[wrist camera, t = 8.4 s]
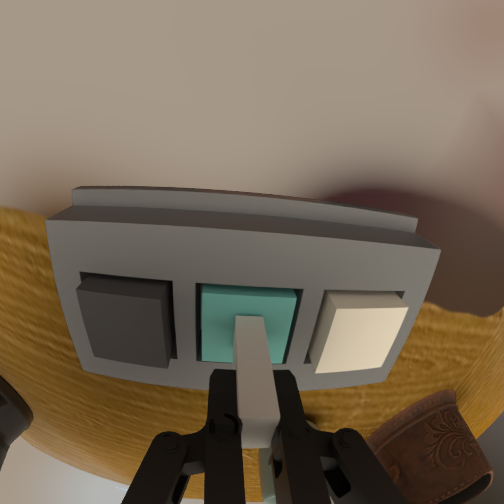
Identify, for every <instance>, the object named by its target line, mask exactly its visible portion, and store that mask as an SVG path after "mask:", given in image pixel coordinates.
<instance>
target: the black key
mask: <svg viewBox="0 0 504 504" xmlns="http://www.w3.org/2000/svg"><path fill="white" fill-rule="evenodd" d="M76 293H77V298H78V302H79V306H80V310H81V314H82V318H83V322H84V325H85V329H86V332H87V336H88V339H89V342H90V345H91V349H92V352H93V355H94V357H98V358H103V359H108V360H113V361H118V362H124V363H130V364H136V365H142V366H149V367H157V368H164V369H168V366H169V362H170V357H171V353H172V349H173V345H174V341H175V329H174V313H173V294H172V281H170V280H158V279H147V278H137V277H127V276H117V275H108V274H99V273H90V274H89V275H88V276H87V277H86V278H85V279H84V280H83V282H82V283H81V284H80V285H79V286H78V287H77V288H76Z"/></svg>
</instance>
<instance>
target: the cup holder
mask: <svg viewBox="0 0 504 504" xmlns="http://www.w3.org/2000/svg"><path fill="white" fill-rule="evenodd" d="M366 443H367V445H368V446H369V447H370V449H371V450H372V452H373V453H374V455H375V456H376V458H377V459H378V460H379V462H380V463H381V465H382V466H383V467H384V469H385V470H386V472H387V473H388V475H389V476H390V477H391V479H392V480H393V482H394V483H395V484H396V486H397V487H398V489H399V490H400V491H401V493H402V494H403V496H404V497H405V498H406V500H407V501H408V503H409V504H464V503H467V502H468V501H470V500H472V499H473V498H475V497H476V496H478V495H479V494H481V493H482V492H483V491H485V490H486V489H487V488H488V487H489V486H490V484H491V483H492V480H493V477H494V472H493V470H492V468H491V466H490V464H489V463H488V460H487V459H486V457H485V455H484V453H483V451H482V450H481V448H480V446H479V444H478V443H477V441H476V439H475V437H474V436H473V434H472V432H471V431H470V429H469V427H468V426H467V424H466V422H465V421H464V419H463V418H462V416H461V414H460V413H459V411H458V406H457V404H456V392H455V391H454V390H443V391H439V392H436V393H434V394H432V395H430V396H427V397H425V398H423V399H421V400H420V401H418V402H416V403H414V404H412V405H411V406H409V407H408V408H406V409H404V410H403V411H401V412H400V413H398V414H397V415H395V416H394V417H392V418H391V419H390V420H388V421H387V422H385V423H384V424H383V425H382V426H381V427H379V428H378V429H377V430H376V431H375V432H373V434H372V435H371V436H370V437H369V438H368V439H367V440H366Z"/></svg>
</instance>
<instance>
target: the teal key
mask: <svg viewBox="0 0 504 504" xmlns="http://www.w3.org/2000/svg"><path fill="white" fill-rule="evenodd" d="M296 299H297V297H296V295H295V292H294V290H293V288H274V287H255V286H238V285H223V284H208V283H204V285H203V291H202V361H211V362H228V363H233V340H234V329H235V317H236V315H239V316H260V317H263V318H264V324H265V330H266V336H267V342H268V347H269V353H270V359H271V364H282V360H283V356H284V352H285V348H286V344H287V340H288V335H289V331H290V327H291V322H292V318H293V313H294V309H295V304H296Z"/></svg>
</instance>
